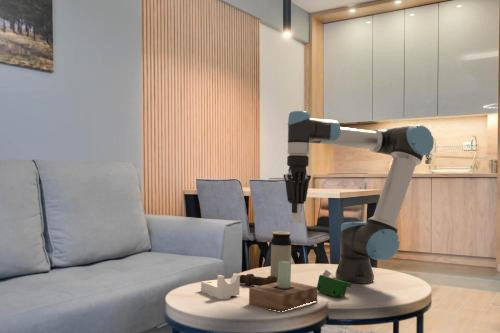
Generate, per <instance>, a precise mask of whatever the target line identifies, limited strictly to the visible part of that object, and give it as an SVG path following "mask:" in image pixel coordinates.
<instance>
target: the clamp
mask: <svg viewBox="0 0 500 333" xmlns="http://www.w3.org/2000/svg"><path fill="white" fill-rule="evenodd" d="M316 287H317V292H319V293H322V294H326V295H328V296H331V297H332V298H333V297H334V298H341V297H342V296H346V292H347V288H351V287H352V283H349V282H344V281H340V280H338V279H336V278H334V277H330V276H327V275H323V274H319V276H318V281H317V284H316Z"/></svg>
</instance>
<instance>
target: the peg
mask: <svg viewBox="0 0 500 333" xmlns="http://www.w3.org/2000/svg"><path fill="white" fill-rule="evenodd" d="M291 269H292V261H291V262H288V261H279V264H278V279H277V282H278V286H277V288H278V289H281V290H289V289H290V281H291V280H292V279H291V278H292V277H291V276H292V274H291V273H292V270H291ZM291 282H292V281H291Z"/></svg>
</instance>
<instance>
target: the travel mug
mask: <svg viewBox="0 0 500 333" xmlns="http://www.w3.org/2000/svg"><path fill="white" fill-rule="evenodd" d="M271 233H272V239H271V242H270V245H271V246H270V274H269V276H271V275H274V276H276V278H277V280H278V264H279V261H288V262H291V263H292V261H291V260H292V239H291V238H290V237H291V234H292V233H291V232H290V231H272V232H271Z"/></svg>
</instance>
